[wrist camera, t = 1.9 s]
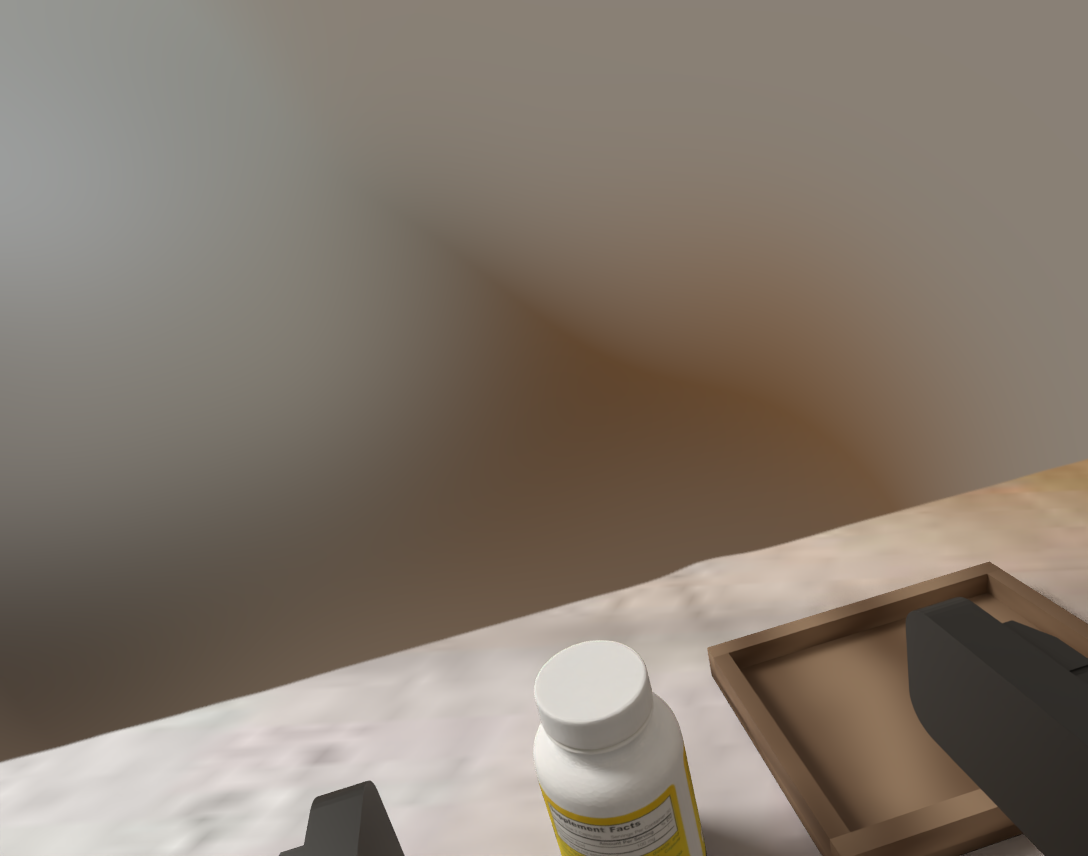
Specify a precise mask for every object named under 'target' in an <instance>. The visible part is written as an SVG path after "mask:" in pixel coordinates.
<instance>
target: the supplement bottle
mask: <svg viewBox="0 0 1088 856" xmlns="http://www.w3.org/2000/svg"><path fill="white" fill-rule="evenodd" d="M534 697H535V701H536V705H537V709H538V712H539V717H540V721H541V724H540V726H539V729H538V731H537V734H536V737H535V741H534V750H533V758H534V765H535V770H536V774H537V778H538V781H539V785H540V788H541V791H542V794H543V797H544V800H545V803H546V807H547V810H548V813H549V816H550V819H551V822H552V826H553V829H554V832H555V836H556V839H557V842H558V845H559V848H560V851H561V855H562V856H707V853H706V848H705V842H704V837H703V832H702V828H701V823H700V818H699V814H698V809H697V804H696V799H695V794H694V789H693V784H692V780H691V775H690V771H689V766H688V761H687V756H686V751H685V746H684V741H683V737H682V733H681V730H680V726H679V724H678V721H677V719H676V717H675V715H674V713H673V711H672V710H671V708H670V707H669V706H668V705H667V703H666V702H665V701H664V700H662V699H661V698H660V697H659V696H658V695H656V694H655V693H653V692H652V688H651V685H650V680H649V676H648V672H647V669H646V665H645V663H644V661H643V660H642V658H641V657H640V656H639V654H638V653H637V652H636V651H634V650H633V649H631V648H630V647H628V646H626V645H624V644H621V643H618V642H614V641H605V640H596V641H587V642H582V643H579V644H576V645H573V646H570V647H568V648H566V649H564V650H562V651H560V652H559V653H557V654H556V655H554V656H553V657H552V658H551V659H550V660H548V662H547V663H546V664H545V665H544V666H543V667H542V669H541V670H540V671H539V673H538V675H537V678H536V680H535V685H534Z"/></svg>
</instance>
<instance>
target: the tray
mask: <svg viewBox="0 0 1088 856" xmlns="http://www.w3.org/2000/svg"><path fill="white" fill-rule="evenodd" d="M955 597H963V598H966V599H968V600H970V601H972V602H973V603H975V604H976V605H978V606H979V607H980V608H982V609H983V610H985V611H986V612H987V613H989V614H990V615H992V616H993V617H994V618H996V619H997V620H998V621H1000V622H1001V623H1004V622H1008V621H1011V620H1013V621H1016V622H1018V623H1021V624H1023V625H1026V626H1029V627H1031V628H1034V629H1036V630H1039V631H1042V632H1044V633H1047V634H1049V635H1052V636H1055V637H1057V638H1058V639H1060V640H1061V641H1063V642H1064V643H1066V644H1067V645H1069V646H1070V647H1072V648H1073V649H1075V650H1076V651H1078V652H1079V653H1081V654H1082V655H1084V656H1085V657H1086V658H1088V624H1087V623H1085V622H1084V621H1082V620H1080V619H1079V618H1077V617H1076V616H1074V615H1073V614H1071V613H1069V612H1068V611H1066V610H1065V609H1063V608H1062V607H1060V606H1058V605H1057V604H1055V603H1054V602H1052V601H1051V600H1049V599H1047V598H1046V597H1044V596H1043V595H1041V594H1039V593H1038V592H1036V591H1035V590H1033V589H1032V588H1030V587H1028V586H1027V585H1025V584H1024V583H1022V582H1021V581H1019V580H1017V579H1016V578H1014V577H1013V576H1011V575H1010V574H1008V573H1006V572H1005V571H1003V570H1002V569H1000V568H999V567H997V566H995V565H994V564H992V563H991V562H987V563H983V564H980V565H977V566H974V567H970V568H967V569H964V570H961V571H957V572H954V573H951V574H947V575H944V576H941V577H938V578H934V579H931V580H928V581H924V582H921V583H918V584H915V585H911V586H908V587H905V588H902V589H898V590H895V591H892V592H888V593H885V594H882V595H879V596H875V597H872V598H869V599H865V600H862V601H859V602H856V603H852V604H849V605H846V606H843V607H839V608H836V609H833V610H829V611H826V612H823V613H820V614H816V615H813V616H810V617H806V618H803V619H800V620H797V621H793V622H790V623H787V624H784V625H780V626H777V627H774V628H770V629H767V630H764V631H761V632H757V633H754V634H751V635H747V636H744V637H741V638H738V639H734V640H731V641H728V642H725V643H721V644H718V645H715V646H711V647H708V648H707V649H708V655H709V661H710V667H711V673H712V677H713V678H714V680H715V681H716V683H717V685H718V686H719V688H720V690H721V691H722V693H723V695H724V696H725V698H726V699H727V701H728V703H729V704H730V706H731V708H732V709H733V711H734V712H735V714H736V716H737V717H738V719H739V721H740V722H741V724H742V726H743V727H744V729H745V730H746V732H747V734H748V735H749V737H750V739H751V740H752V742H753V744H754V745H755V747H756V748H757V750H758V752H759V753H760V755H761V757H762V758H763V760H764V762H765V763H766V765H767V766H768V768H769V770H770V771H771V773H772V775H773V776H774V778H775V779H776V781H777V783H778V784H779V786H780V788H781V789H782V791H783V793H784V794H785V796H786V797H787V799H788V801H789V802H790V804H791V806H792V807H793V809H794V811H795V812H796V814H797V815H798V817H799V819H800V820H801V822H802V824H803V825H804V827H805V829H806V830H807V832H808V833H809V835H810V837H811V838H812V840H813V842H814V843H815V845H816V846H817V848H818V850H819V851H820V853H821V855H822V856H959V855H962V854H965V853H968V852H971V851H974V850H977V849H979V848H982V847H985V846H988V845H991V844H994V843H997V842H1000V841H1003V840H1006V839H1008V838H1011V837H1014V836H1017V835H1020V834H1023V832H1022V831H1021V830H1020V829H1019V828H1018V827H1017V826H1016V825H1015V824H1014V823H1013V822H1012V821H1011V820H1010V819H1009V818H1008V817H1007V816H1006V815H1005V814H1004V813H1003V812H1002V811H1001V810H1000V808H999V807H998V806H997V805H996V804H995V803H994V802H993V801H992V800H991V799H990V798H989V797H988V796H987V795H986V794H985V793H984V792H983V791H982V790H981V789H980V788H979V787H978V786H977V785H976V784H975V782H974V781H973V780H972V779H971V778H970V777H969V776H968V775H967V774H966V773H965V772H964V771H963V770H962V769H961V768H960V767H959V766H958V765H957V764H956V763H955V762H954V761H953V760H952V759H951V757H950V756H949V755H948V754H947V753H946V752H945V751H944V750H943V749H942V748H941V747H940V746H939V745H938V744H937V743H936V742H935V741H934V740H933V739H932V738H931V736H930V735H929V734H928V733H927V731H926V730H925V729H924V727H923V726H922V724H921V722H920V721H919V719H918V717H917V715H916V713H915V710H914V708H913V705H912V702H911V699H910V694H909V679H908V661H907V643H906V617H907V615H908V614H909V613H910V612H911V611H914V610H917V609H920V608H924V607H927V606H930V605H933V604H936V603H939V602H943V601H946V600H949V599H952V598H955Z"/></svg>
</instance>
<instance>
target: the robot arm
mask: <svg viewBox="0 0 1088 856" xmlns="http://www.w3.org/2000/svg"><path fill="white" fill-rule="evenodd" d="M906 643H907V661H908V679H909V694H910V699H911V702H912V705H913V708H914V710H915V713H916V715H917V717H918V719H919V721H920V722H921V724H922V726H923V727H924V729H925V730H926V731H927V733H928V734H929V735H930V736H931V738H932V739H933V740H934V741H935V742H936V743H937V744H938V745H939V746H940V747H941V748H942V749H943V750H944V751H945V752H946V753H947V754H948V755H949V756H950V757H951V759H952V760H953V761H954V762H955V763H956V764H957V765H958V766H959V767H960V768H961V769H962V770H963V771H964V772H965V773H966V774H967V775H968V776H969V777H970V778H971V779H972V780H973V781H974V782H975V784H976V785H977V786H978V787H979V788H980V789H981V790H982V791H983V792H984V793H985V794H986V795H987V796H988V797H989V798H990V799H991V800H992V801H993V802H994V803H995V804H996V805H997V806H998V807H999V808H1000V810H1001V811H1002V812H1003V813H1004V814H1005V815H1006V816H1007V817H1008V818H1009V819H1010V820H1011V821H1012V822H1013V823H1014V824H1015V825H1016V826H1017V827H1018V828H1019V829H1020V830H1021V831H1022V832H1023V833H1024V835H1025V836H1026V837H1027V838H1028V839H1029V840H1030V841H1031V842H1032V843H1033V844H1034V845H1035V846H1036V847H1037V848H1038V849H1039V850H1040V851H1041V852H1042V853H1043V854H1044V855H1045V856H1088V658H1086V657H1085V656H1084V655H1082V654H1081V653H1079V652H1078V651H1076V650H1075V649H1073V648H1072V647H1070V646H1069V645H1067V644H1066V643H1064V642H1063V641H1061V640H1060V639H1058V638H1057V637H1055V636H1052V635H1049V634H1047V633H1044V632H1042V631H1039V630H1036V629H1034V628H1031V627H1029V626H1026V625H1023V624H1021V623H1018V622H1016V621H1013V620H1011V621H1008V622H1004V623H1001V622H1000V621H998V620H997V619H996V618H994V617H993V616H992V615H990V614H989V613H987V612H986V611H985V610H983V609H982V608H980V607H979V606H978V605H976V604H975V603H973V602H972V601H970V600H968V599H966V598H963V597H955V598H952V599H949V600H946V601H943V602H939V603H936V604H933V605H930V606H927V607H924V608H920V609H917V610H914V611H911V612H910V613H909V614H908V615H907V617H906ZM279 856H404V853H403V851H402V848H401V846H400V844H399V841H398V839H397V836H396V834H395V832H394V829H393V827H392V824H391V822H390V820H389V817H388V815H387V812H386V810H385V807H384V805H383V803H382V800H381V798H380V795H379V793H378V791H377V789H376V787H375V785H374V783H373V782H372V781H366V782H363V783H359V784H356V785H353V786H350V787H347V788H344V789H340V790H337V791H334V792H331V793H328V794H324V795H321V796H318V797H316V798H315V799H314V801H313V803H312V806H311V810H310V815H309V820H308V826H307V831H306V836H305V842H304V845H303V846H300V847H297V848H294V849H291V850H288V851H284V852H281V853H280V855H279Z"/></svg>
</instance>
